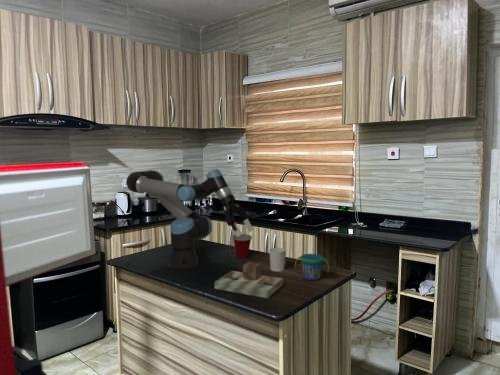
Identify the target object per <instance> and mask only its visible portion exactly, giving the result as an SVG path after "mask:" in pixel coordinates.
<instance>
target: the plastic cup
mask: <svg viewBox="0 0 500 375" xmlns="http://www.w3.org/2000/svg"><path fill="white" fill-rule="evenodd" d="M232 239H233V243H234V244H233V245H234V249H235V254H236V259H239V260H245V259H247V258H248V256H249V250H250V245H251V241H252V239H253V236H252V235H250V234H246V233H242V235H240V236H239V237H237V236H236V234H234V235H232Z"/></svg>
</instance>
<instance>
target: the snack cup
mask: <svg viewBox="0 0 500 375" xmlns="http://www.w3.org/2000/svg"><path fill="white" fill-rule="evenodd" d="M298 260H300V262H301V266H302V267H301V268H302V269H301V270H302V276H303V278H304V279H305V280H307V281H318V280H320V279H321V274H322V269H323V268H322V267H323V264H324V262H325V263H326V265H327V274H329V271H330V264H329V261H328V259H326V258H324V256H322V255H321V254H318V253H304V254H301V255H300V256H299V257H297V258H296V260H295V263H294V269H295V271H297V270H298V266H297V261H298Z"/></svg>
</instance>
